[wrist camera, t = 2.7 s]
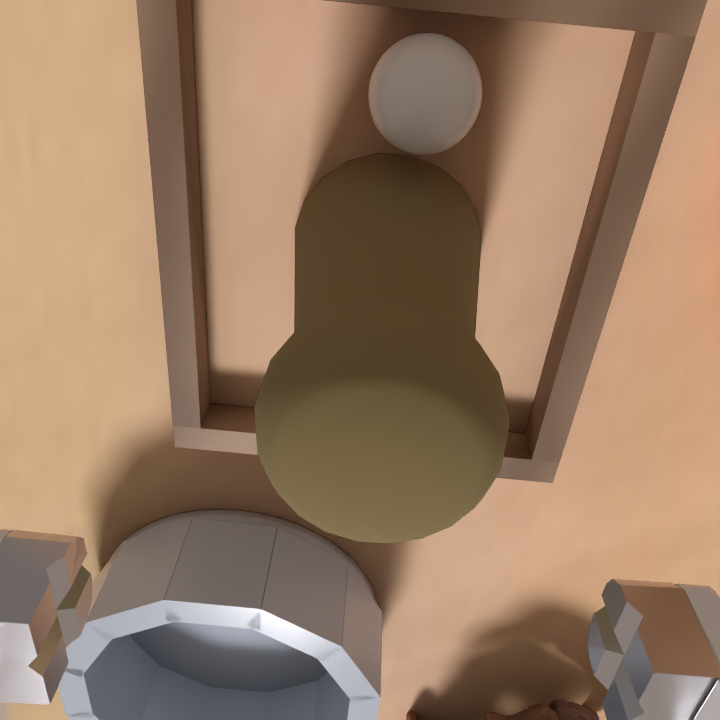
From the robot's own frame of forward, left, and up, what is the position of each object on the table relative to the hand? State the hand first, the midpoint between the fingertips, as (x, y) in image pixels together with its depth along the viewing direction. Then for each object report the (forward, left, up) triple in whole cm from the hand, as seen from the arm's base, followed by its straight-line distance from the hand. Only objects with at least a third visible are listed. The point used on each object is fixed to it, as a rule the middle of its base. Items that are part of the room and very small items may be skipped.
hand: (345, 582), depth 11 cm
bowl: (+4, +19, -13) cm, 24 cm away
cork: (0, 0, -14) cm, 14 cm away
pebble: (-1, -5, -13) cm, 14 cm away
